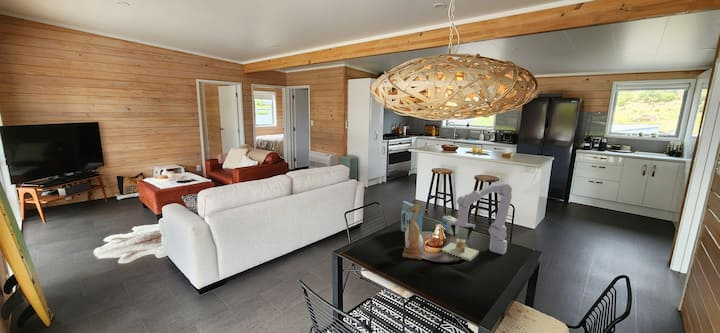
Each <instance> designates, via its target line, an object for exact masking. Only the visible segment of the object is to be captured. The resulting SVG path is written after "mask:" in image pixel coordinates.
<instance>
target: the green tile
mask: <svg viewBox="0 0 720 333" xmlns="http://www.w3.org/2000/svg"><path fill="white" fill-rule="evenodd" d="M441 250H442V251H441ZM440 251H441V252H442V253H445V252H446V253H445V254H448V253H449V254H448V255H450V254H452V255H451V256H453V255H455V256H454V257H456V256H458V257H457V258H459V257H461V258H460V259H463V260H465V261H469V262H471V261H472V260H473V259H475V257H477V256H478V255H479V254H480V251H479V250H478V249H474V248H471V247H466V246H465V252H458V251H456V243H454V242H449V243H448V244H447V245H445V246H444V247H442V248H441V249H440Z"/></svg>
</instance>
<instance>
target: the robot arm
mask: <svg viewBox="0 0 720 333" xmlns="http://www.w3.org/2000/svg"><path fill="white" fill-rule="evenodd" d="M512 190H513V188H512V187H511V185H510V184H508V183H505V182H501V181H499V180H496V181H493V182H491V184H489V185H488V186H486V187H484V188H482V189H481V190H472V191H471V192H470V193H466V194H465V195H460V196H459V197H458V198H457V200H456V203H457V205H458V209H457V219H458V220H457V222H454V221H450V224H449V225H451V228H452V230H453V238H456V234H455V227H456V226H459V227H463V228H468V229H467V237H466V238H467V240H469V238H470V236H471V234H472V232H473V230H474V229H475V228H476V224H475V223H471V222H470V223H469V222H468V219H469V218H468V217H469V208H470V206H471V205H472V204H474V203H475V202H478V201H480V200H481V198H482V197H484V196H486V195H489V194H491V193H496V194H498V196H499V197H500V199H499V200H500V201H499V206H498V209H497V212H496V216H495V219H494V221H493V222H492V223H491V225H490V226H489V228H488V233H489V234H490V235H489V237H490V239H489V240H490V241H489V251H490V252H492V253H496V254H500V255H505V254H506V252H507V248H508V241H507V240H506V238H507V227H506V225H505V223H506V221H507V220H506V219H507V217H508V213H509V210H510V205H511V203H512V202H511V201H512V198H513V196H512Z"/></svg>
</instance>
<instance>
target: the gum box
mask: <svg viewBox="0 0 720 333" xmlns="http://www.w3.org/2000/svg"><path fill="white" fill-rule="evenodd" d="M415 204H416V203H415ZM415 204H414V203H413V202H410V201H408V200H403V201H401V220H400V230H401V232H403V233H405V232H406V230H407V229H406V228H408V227H409V225H410V220H411V218H412V216H413V214H414V211H410V208H411V207H412V206H414V205H415ZM423 210H424V207H421V208H420V210H419V212H418V215H417V217H416V221H415V223H416V224H417V225H418V226H419V228H420V234H421V236H422V234H423V213H424V211H423ZM422 237H423V236H422Z"/></svg>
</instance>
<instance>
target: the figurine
mask: <svg viewBox="0 0 720 333" xmlns="http://www.w3.org/2000/svg"><path fill="white" fill-rule="evenodd" d="M406 229H407V230H406V232H404V238H405V239H404V242H405V245H406V246H405V247H406V248H408V247H409V245H410V242H409V240H408V234H409V227H408V228H406ZM423 245H424V238H423V236H421V234H420V233H419V244H418V249H422V247H423ZM405 251H406V250H405Z"/></svg>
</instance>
